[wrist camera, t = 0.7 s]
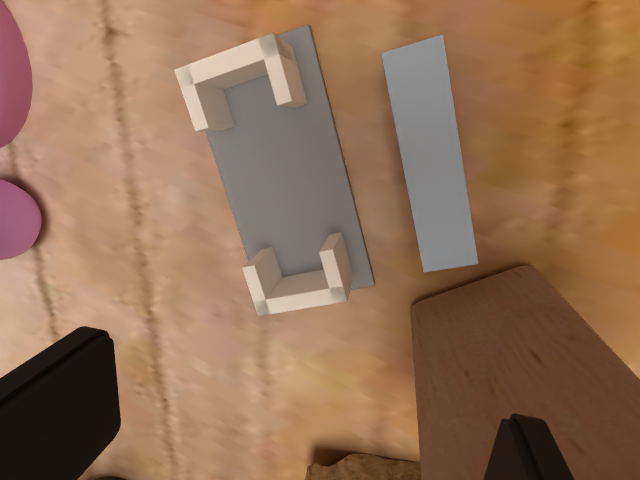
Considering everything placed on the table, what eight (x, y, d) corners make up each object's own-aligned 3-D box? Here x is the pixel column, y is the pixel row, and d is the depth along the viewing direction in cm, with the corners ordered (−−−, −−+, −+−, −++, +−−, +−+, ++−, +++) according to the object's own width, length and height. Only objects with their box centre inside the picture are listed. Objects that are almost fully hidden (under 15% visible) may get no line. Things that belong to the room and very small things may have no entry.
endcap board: (310, 26, 27) (291, 5, 22) (374, 282, 32) (370, 310, 27) (189, 70, 29) (149, 61, 25) (265, 301, 34) (244, 330, 30)
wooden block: (405, 300, 32) (416, 561, 13) (530, 256, 29) (781, 511, 10) (451, 397, 33) (519, 748, 15) (573, 365, 30) (854, 754, 12)
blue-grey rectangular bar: (384, 65, 27) (381, 53, 22) (434, 49, 26) (442, 34, 21) (419, 249, 30) (423, 272, 26) (465, 241, 29) (478, 264, 25)
